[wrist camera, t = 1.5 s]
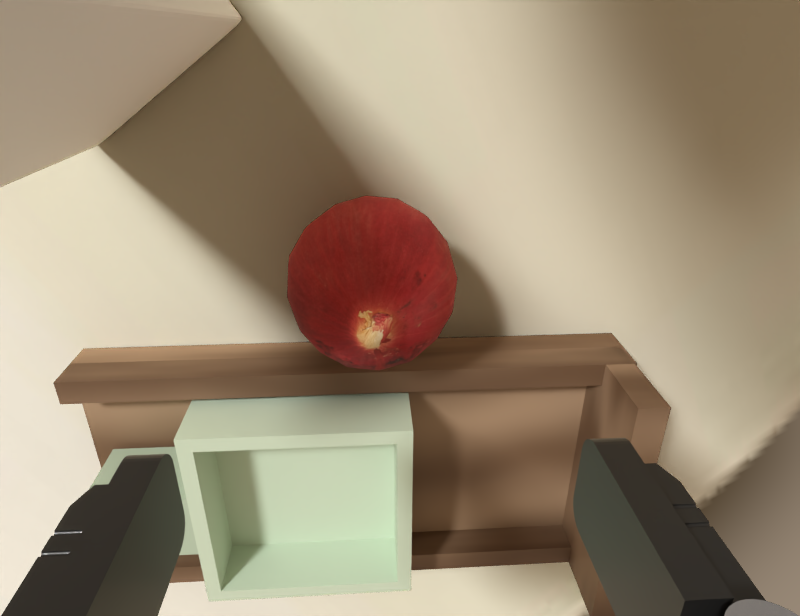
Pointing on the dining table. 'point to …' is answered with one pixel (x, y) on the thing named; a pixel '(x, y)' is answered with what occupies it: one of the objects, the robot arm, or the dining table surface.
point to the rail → (418, 429)
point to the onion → (371, 282)
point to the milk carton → (90, 69)
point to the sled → (294, 493)
